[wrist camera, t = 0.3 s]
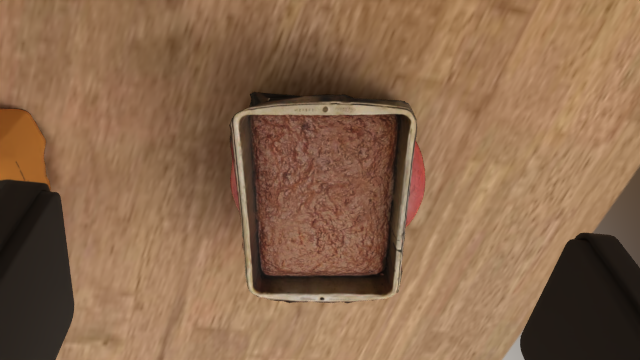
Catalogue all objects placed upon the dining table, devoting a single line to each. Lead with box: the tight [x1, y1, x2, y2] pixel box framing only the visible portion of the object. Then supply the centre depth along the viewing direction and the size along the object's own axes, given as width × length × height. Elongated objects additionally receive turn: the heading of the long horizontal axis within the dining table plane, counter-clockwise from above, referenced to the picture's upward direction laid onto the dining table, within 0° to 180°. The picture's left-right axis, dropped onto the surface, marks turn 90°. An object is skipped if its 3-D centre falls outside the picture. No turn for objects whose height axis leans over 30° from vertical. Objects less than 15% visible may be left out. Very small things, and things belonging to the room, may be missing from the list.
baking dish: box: [229, 92, 425, 303], centre depth 41 cm, size 14×18×10 cm
